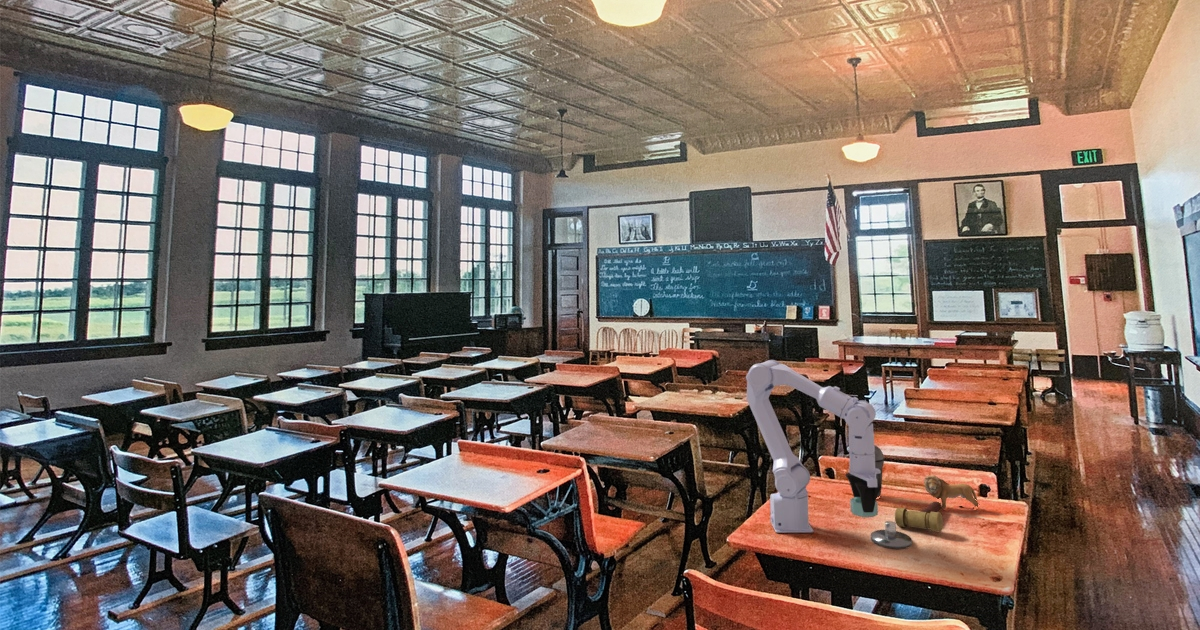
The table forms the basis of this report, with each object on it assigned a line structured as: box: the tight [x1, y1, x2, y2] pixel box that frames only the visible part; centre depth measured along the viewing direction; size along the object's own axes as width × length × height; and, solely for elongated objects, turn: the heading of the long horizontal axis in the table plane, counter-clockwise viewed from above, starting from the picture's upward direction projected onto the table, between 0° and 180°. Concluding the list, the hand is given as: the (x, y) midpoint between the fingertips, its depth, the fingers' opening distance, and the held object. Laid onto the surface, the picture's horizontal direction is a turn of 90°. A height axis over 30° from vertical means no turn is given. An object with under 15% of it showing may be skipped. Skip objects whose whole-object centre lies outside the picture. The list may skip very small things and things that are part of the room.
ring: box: [849, 496, 879, 518], centre depth 146 cm, size 6×6×3 cm
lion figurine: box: [923, 474, 979, 511], centre depth 164 cm, size 15×5×9 cm, turn 86°
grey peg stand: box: [870, 520, 913, 550], centre depth 146 cm, size 9×9×4 cm
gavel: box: [894, 501, 944, 533], centre depth 157 cm, size 21×5×10 cm
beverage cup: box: [874, 444, 885, 497], centre depth 176 cm, size 7×7×20 cm
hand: (864, 507), depth 146 cm, fingers closed on ring, 6 cm apart
